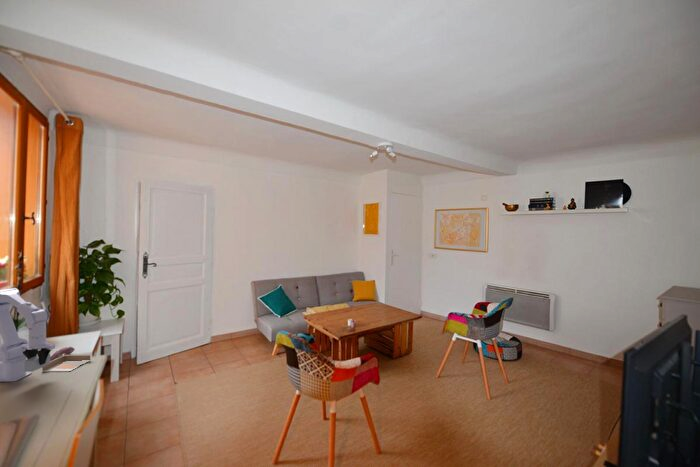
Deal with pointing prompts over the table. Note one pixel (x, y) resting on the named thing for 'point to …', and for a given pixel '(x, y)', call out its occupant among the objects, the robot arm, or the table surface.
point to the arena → (58, 363)
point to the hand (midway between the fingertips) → (37, 364)
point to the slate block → (34, 363)
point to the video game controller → (62, 352)
